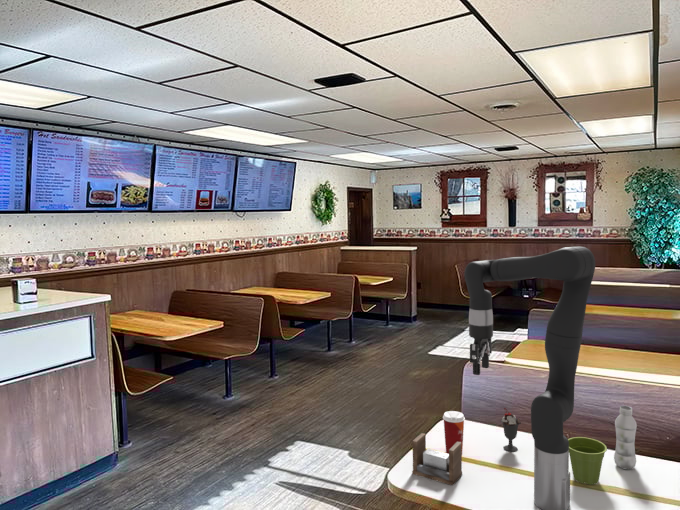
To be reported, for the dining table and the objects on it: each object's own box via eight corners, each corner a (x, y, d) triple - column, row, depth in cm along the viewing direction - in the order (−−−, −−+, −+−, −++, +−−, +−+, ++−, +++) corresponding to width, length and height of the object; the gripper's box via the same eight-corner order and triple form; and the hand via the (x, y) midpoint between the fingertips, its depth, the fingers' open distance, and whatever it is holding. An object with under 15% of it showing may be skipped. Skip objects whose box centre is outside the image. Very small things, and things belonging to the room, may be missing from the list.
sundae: (496, 447, 188) (496, 406, 186) (510, 443, 190) (511, 403, 189) (509, 454, 182) (509, 413, 180) (524, 450, 185) (524, 409, 183)
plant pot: (574, 466, 172) (575, 433, 172) (612, 479, 164) (613, 444, 163) (558, 479, 165) (558, 445, 164) (597, 493, 156) (597, 457, 155)
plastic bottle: (613, 469, 170) (614, 410, 168) (613, 460, 176) (614, 402, 174) (636, 473, 167) (637, 413, 165) (635, 464, 173) (637, 405, 171)
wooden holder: (462, 474, 169) (462, 441, 168) (452, 485, 163) (452, 451, 162) (422, 463, 177) (422, 432, 176) (412, 473, 170) (411, 441, 170)
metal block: (450, 472, 169) (450, 454, 168) (446, 476, 166) (446, 458, 165) (428, 465, 173) (427, 448, 173) (423, 470, 170) (423, 452, 170)
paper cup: (465, 458, 180) (465, 419, 179) (442, 457, 181) (442, 418, 180) (464, 448, 187) (464, 410, 186) (443, 447, 189) (442, 409, 188)
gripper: (485, 327, 161) (485, 379, 162) (499, 319, 172) (499, 367, 174) (461, 325, 165) (462, 375, 166) (477, 317, 176) (477, 363, 178)
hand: (481, 371), depth 170 cm, fingers open, 8 cm apart
